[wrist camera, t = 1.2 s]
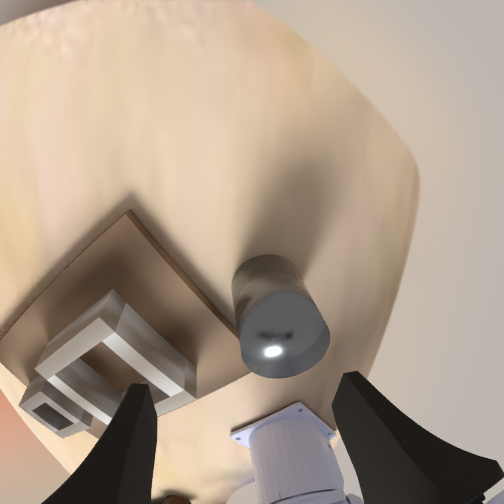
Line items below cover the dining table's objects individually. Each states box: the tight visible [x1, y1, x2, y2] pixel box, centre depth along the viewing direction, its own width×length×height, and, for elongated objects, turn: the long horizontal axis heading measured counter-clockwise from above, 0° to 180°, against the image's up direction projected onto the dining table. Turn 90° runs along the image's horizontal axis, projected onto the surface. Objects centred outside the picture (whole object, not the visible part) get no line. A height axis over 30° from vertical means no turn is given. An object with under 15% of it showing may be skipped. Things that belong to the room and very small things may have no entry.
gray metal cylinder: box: [231, 255, 330, 378], centre depth 17 cm, size 4×4×6 cm
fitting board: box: [0, 210, 252, 439], centre depth 19 cm, size 14×20×4 cm
